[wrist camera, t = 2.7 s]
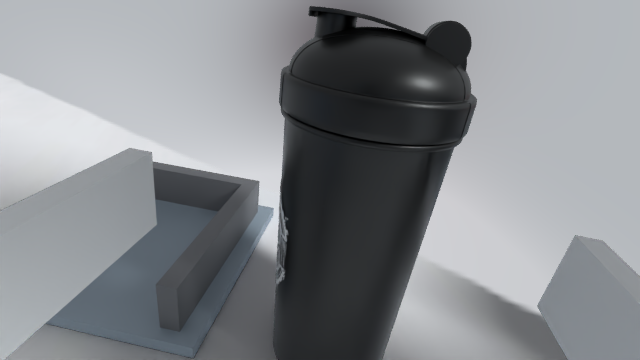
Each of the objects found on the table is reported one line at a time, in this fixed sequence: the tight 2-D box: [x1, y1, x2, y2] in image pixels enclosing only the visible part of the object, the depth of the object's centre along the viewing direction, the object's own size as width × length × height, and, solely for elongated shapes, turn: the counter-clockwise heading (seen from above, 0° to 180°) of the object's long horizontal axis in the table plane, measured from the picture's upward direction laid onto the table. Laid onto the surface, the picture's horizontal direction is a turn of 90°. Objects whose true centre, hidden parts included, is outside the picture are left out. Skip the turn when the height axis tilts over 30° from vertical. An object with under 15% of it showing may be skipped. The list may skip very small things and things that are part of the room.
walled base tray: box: [46, 162, 274, 358], centre depth 33 cm, size 20×20×5 cm
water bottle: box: [273, 6, 477, 360], centre depth 22 cm, size 10×10×23 cm
